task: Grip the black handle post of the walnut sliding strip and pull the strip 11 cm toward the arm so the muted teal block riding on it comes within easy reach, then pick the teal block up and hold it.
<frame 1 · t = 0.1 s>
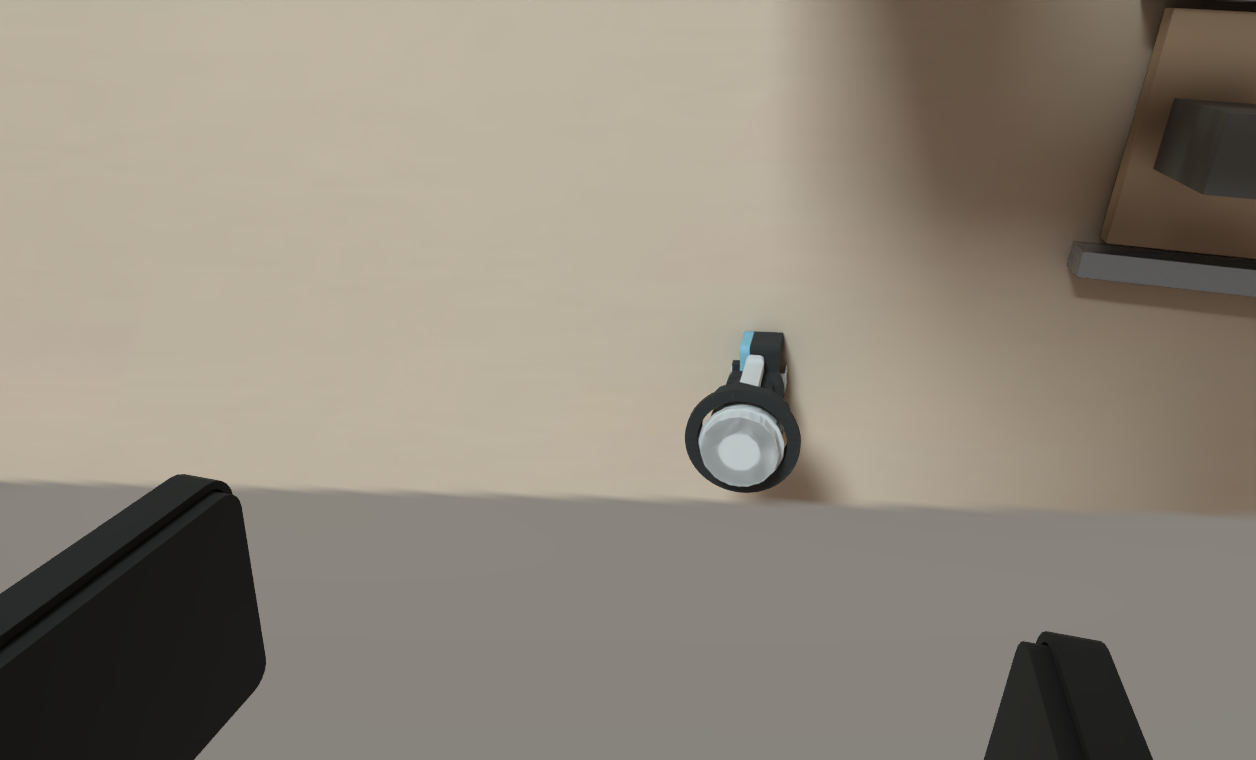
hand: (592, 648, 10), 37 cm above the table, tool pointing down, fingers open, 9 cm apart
push button: (760, 379, 48), on the table
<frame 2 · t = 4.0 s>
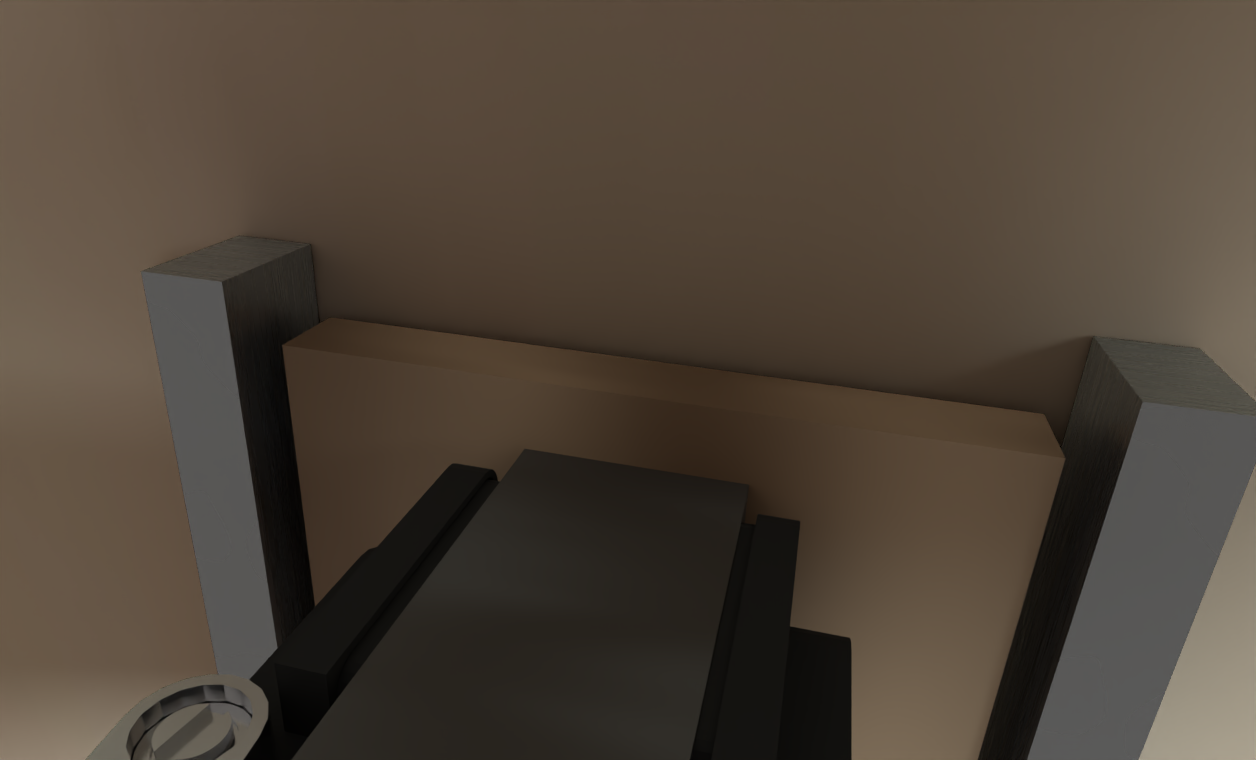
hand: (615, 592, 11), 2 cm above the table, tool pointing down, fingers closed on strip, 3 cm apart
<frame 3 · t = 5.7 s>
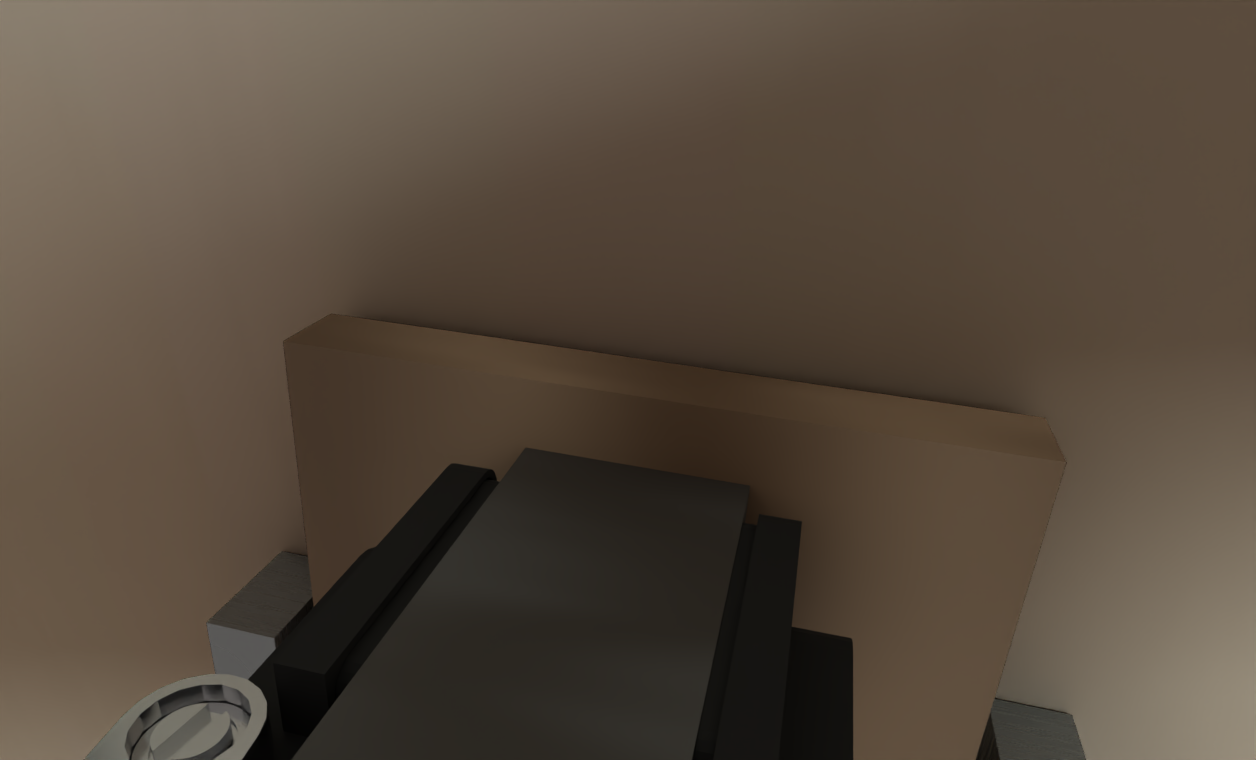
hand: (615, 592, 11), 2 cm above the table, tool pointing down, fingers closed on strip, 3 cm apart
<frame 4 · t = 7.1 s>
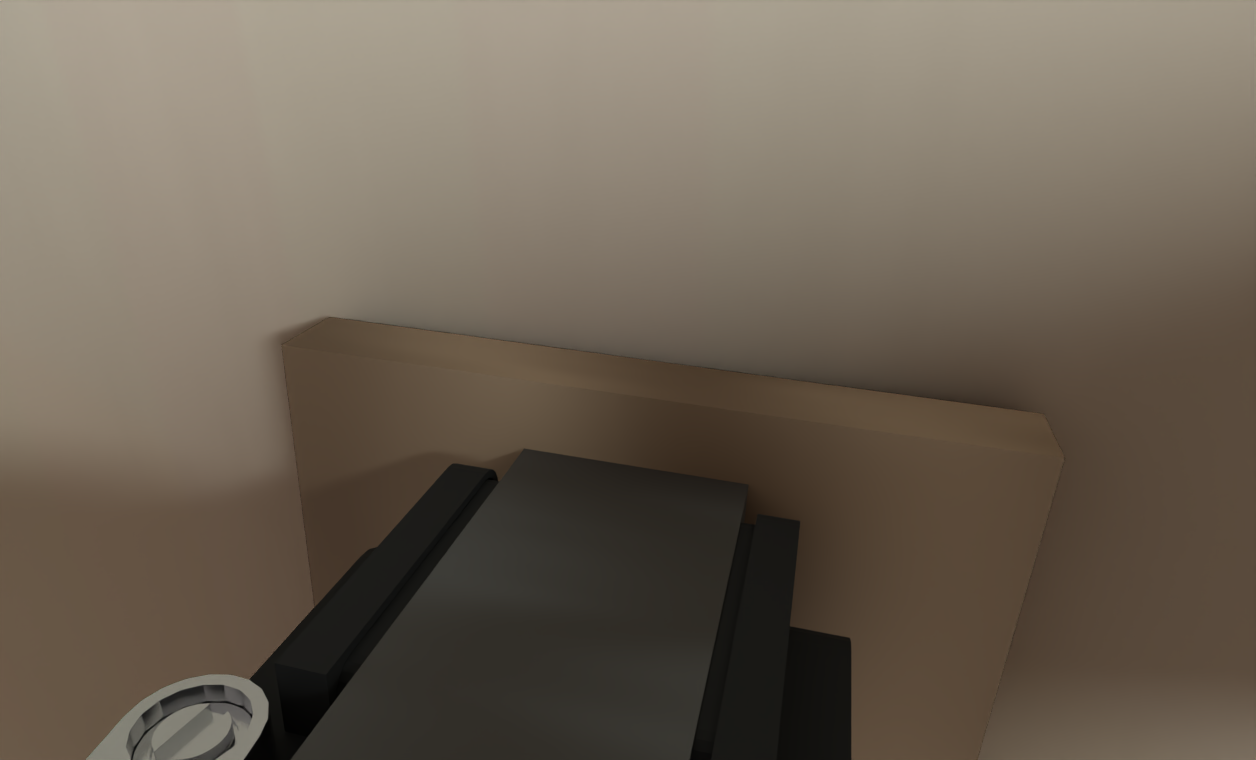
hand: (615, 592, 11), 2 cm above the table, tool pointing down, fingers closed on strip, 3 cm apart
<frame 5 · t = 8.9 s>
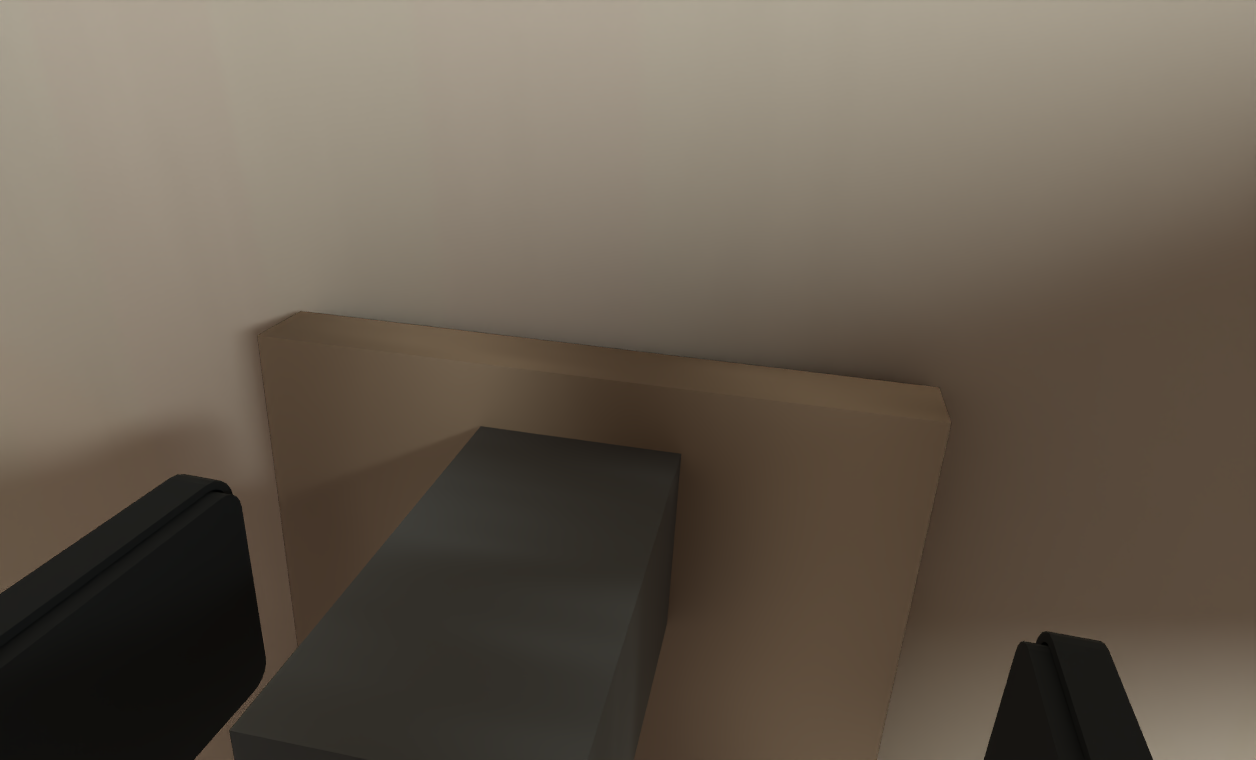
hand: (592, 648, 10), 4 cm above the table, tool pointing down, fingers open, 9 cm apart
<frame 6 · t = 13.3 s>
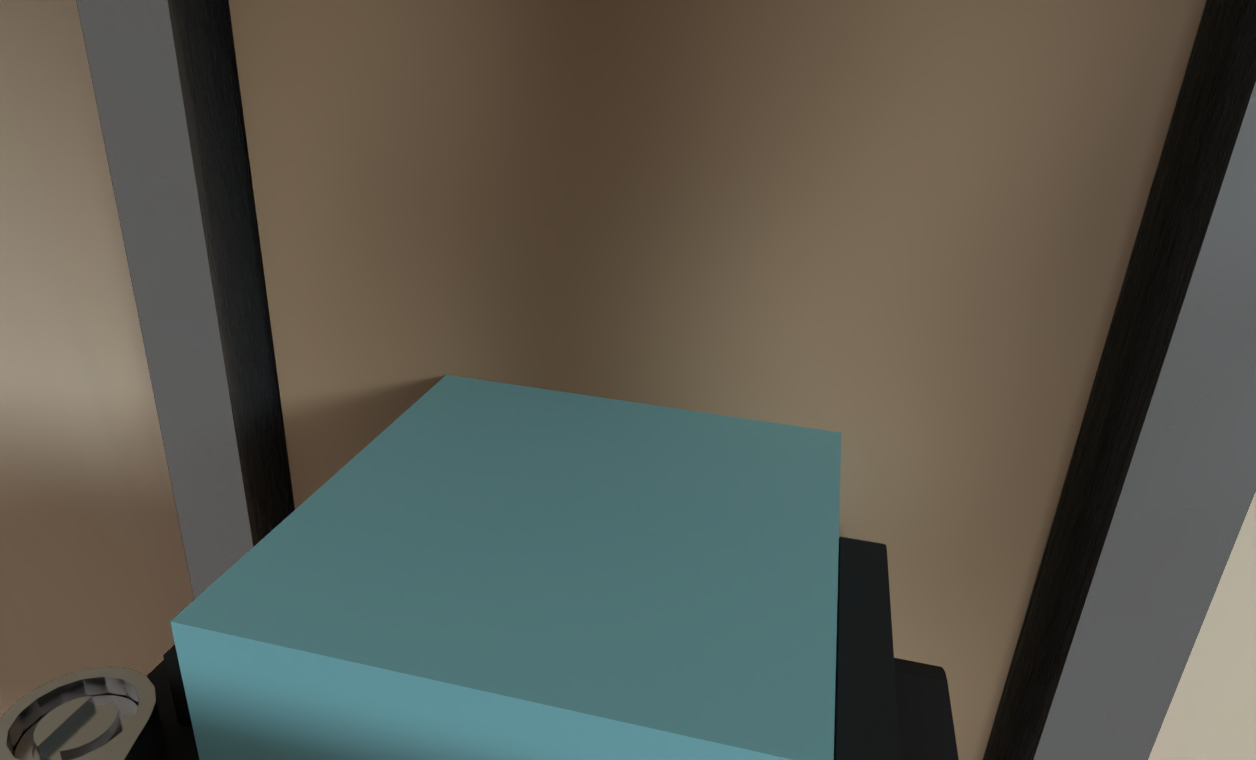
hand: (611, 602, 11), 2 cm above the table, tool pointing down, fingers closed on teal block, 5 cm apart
strip: (589, 135, 7), point 4 cm above the table, slide at 11.0 cm, touching teal block
guide rails: (632, 754, 15), on the table
teal block: (625, 569, 12), point 1 cm above the table, touching gripper, strip
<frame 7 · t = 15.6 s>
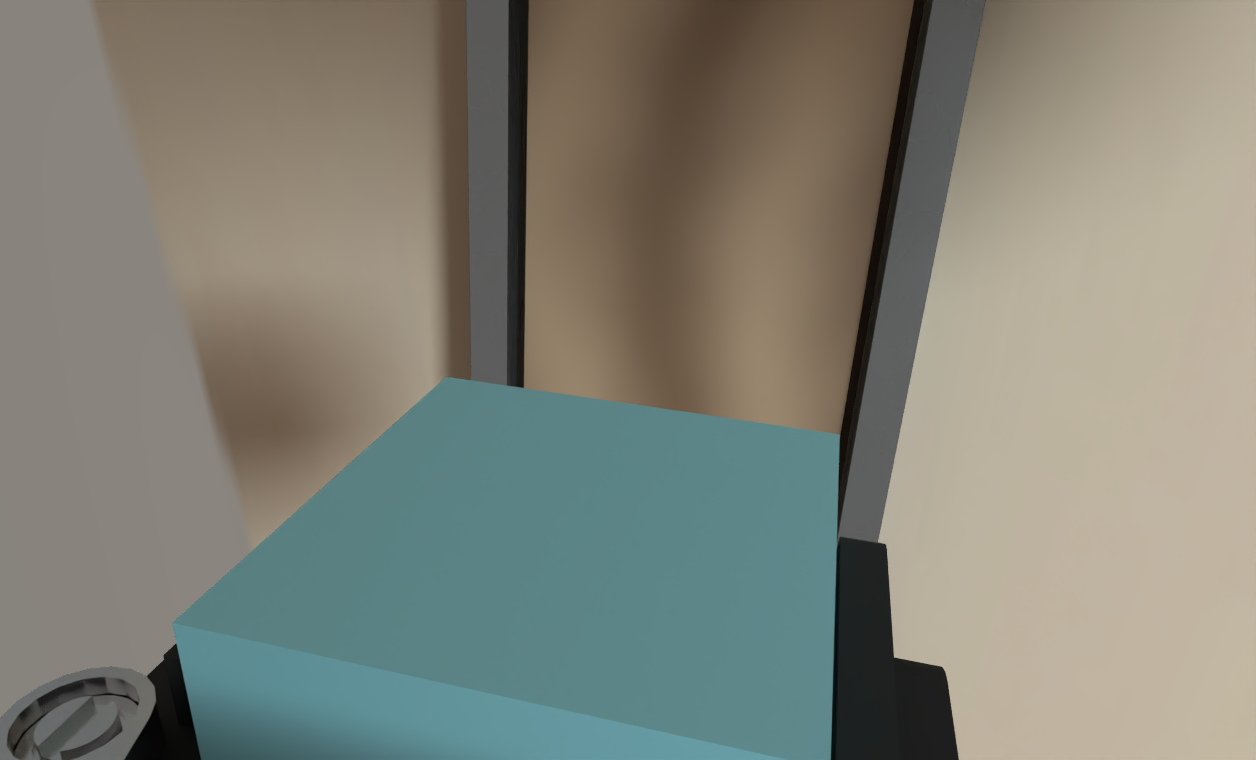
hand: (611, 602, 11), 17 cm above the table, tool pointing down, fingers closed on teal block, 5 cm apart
strip: (688, 152, 21), point 4 cm above the table, slide at 11.0 cm
guide rails: (677, 469, 29), on the table
teal block: (624, 570, 12), point 16 cm above the table, touching gripper
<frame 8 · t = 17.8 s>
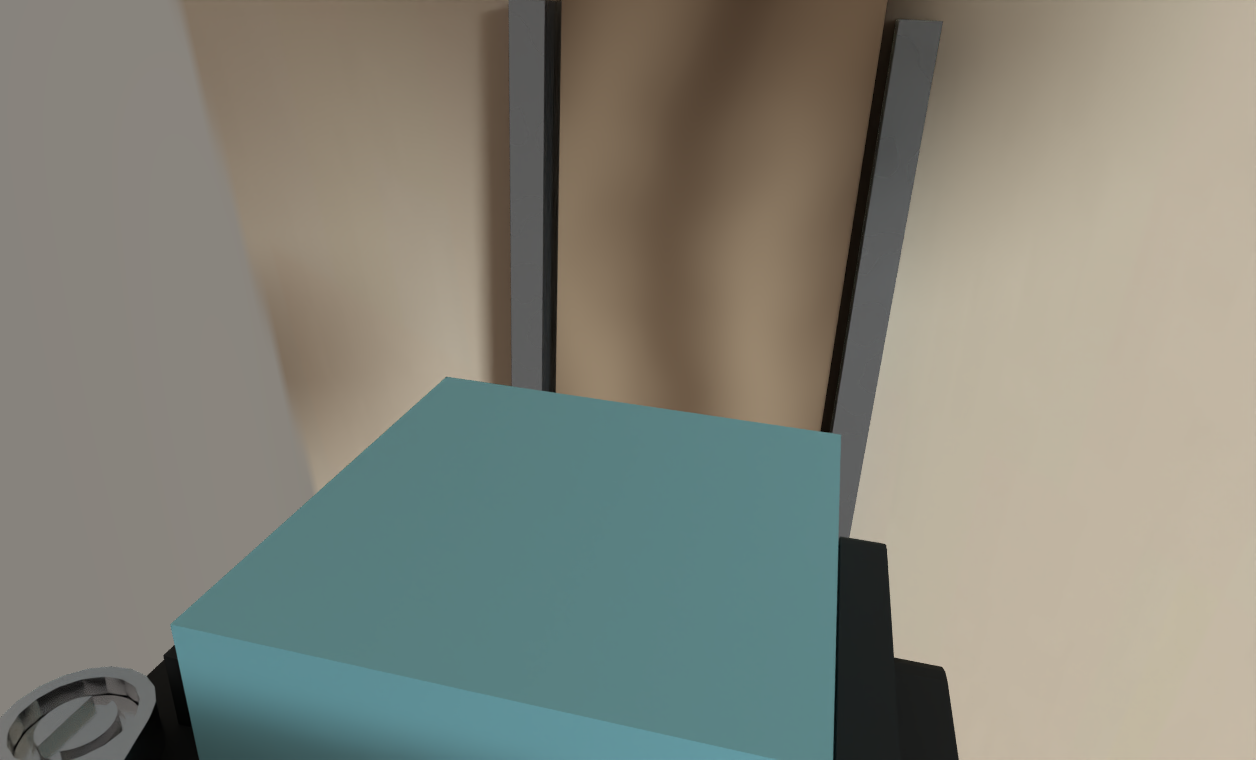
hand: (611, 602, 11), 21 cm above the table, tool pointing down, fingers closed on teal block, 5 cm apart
strip: (691, 187, 26), point 4 cm above the table, slide at 11.0 cm
guide rails: (686, 446, 34), on the table
teal block: (625, 570, 12), point 21 cm above the table, touching gripper
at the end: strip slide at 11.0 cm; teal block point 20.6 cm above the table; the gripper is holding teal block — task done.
